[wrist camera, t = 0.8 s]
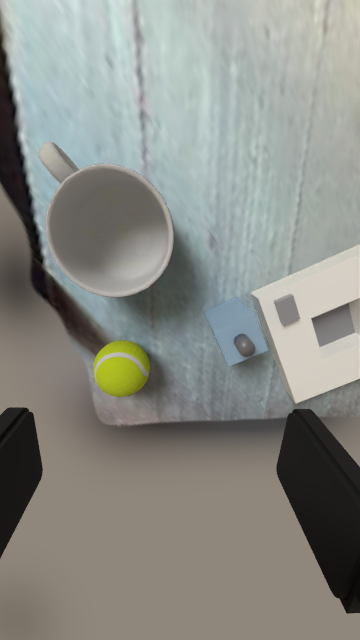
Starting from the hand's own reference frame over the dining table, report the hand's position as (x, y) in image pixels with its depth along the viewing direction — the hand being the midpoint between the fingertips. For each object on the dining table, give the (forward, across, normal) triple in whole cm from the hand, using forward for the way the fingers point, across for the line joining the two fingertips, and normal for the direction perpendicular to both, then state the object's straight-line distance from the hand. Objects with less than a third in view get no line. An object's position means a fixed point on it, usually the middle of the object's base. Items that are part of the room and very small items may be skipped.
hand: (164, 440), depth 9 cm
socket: (+23, -21, +3) cm, 31 cm away
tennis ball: (+23, +5, +8) cm, 25 cm away
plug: (+23, -8, +3) cm, 24 cm away
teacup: (+23, +6, -8) cm, 25 cm away
